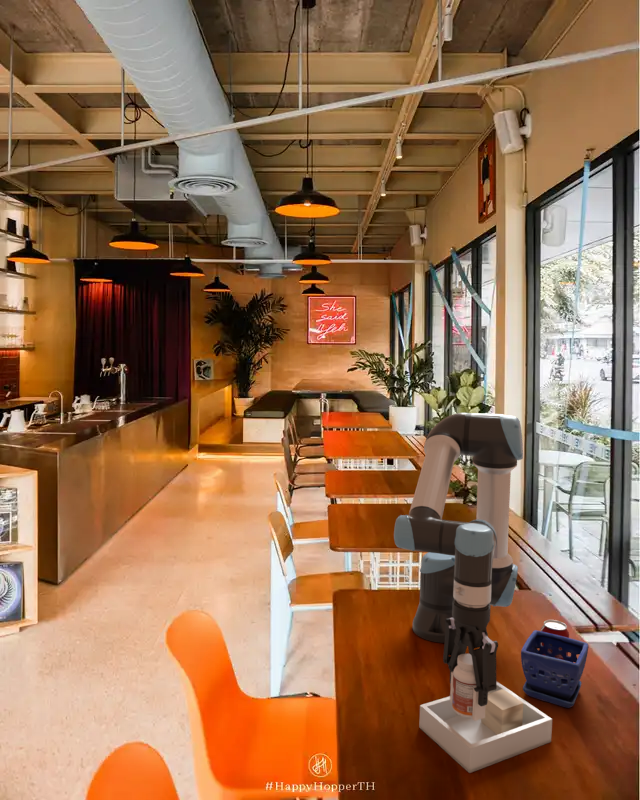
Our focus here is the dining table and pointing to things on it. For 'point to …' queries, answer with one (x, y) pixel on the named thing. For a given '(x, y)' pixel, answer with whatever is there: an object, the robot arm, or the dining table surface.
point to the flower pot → (553, 668)
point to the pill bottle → (463, 686)
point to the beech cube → (503, 712)
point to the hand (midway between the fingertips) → (467, 709)
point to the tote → (482, 733)
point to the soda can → (555, 632)
